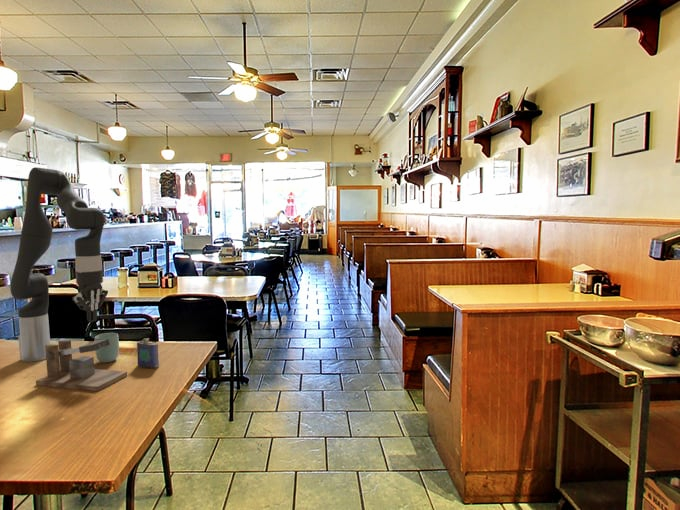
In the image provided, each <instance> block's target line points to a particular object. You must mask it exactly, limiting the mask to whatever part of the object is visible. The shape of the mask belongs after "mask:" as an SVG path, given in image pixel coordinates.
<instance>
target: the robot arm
mask: <svg viewBox="0 0 680 510" xmlns="http://www.w3.org/2000/svg"><path fill="white" fill-rule="evenodd" d="M26 186H27V190H26V200H25V203H26V204H25V210H24V216H23V217H24V218H23V223H22V227H21V232H20V238H19V246H18V253H17V258H16V262H15V266H14V269H13V272H12V276H11V279H10V286H9V287H10V294H11V296H12V298H13V299H15V300H28V299H31V300H30V301H29V302H28V303H27V304H24V306H22V307H20V308H19V309H18V311H17V315H18V324H19V325H18V326H19V335H18V337H17V338H18V349H19V351H18V352H19V360H21V361H22V362H25V363H30V362H31V363H32V362H39V361H42V360H46V350H45V345H47V344H51V335H50V324H49V313H48V312H49V311H48V310H49V306H50V300H49V298H50V297H49V291H50V290H49V281H48V279H47V276H46V275H45V274H44V273H41V272H36V273H35V272H34V273H32V270H33V268H34V267H35V264H37V262H38V261H39V260H40V259H41V258H42V257H43V255H44V254H45V253H46V252H47V251H48V249H49V248H50V245H51V242H52V237H53V226H52V223H51V222H50V220H49V218H48V217H47V215H46V213H45V212H44V209H43V208H42V205H41V195H48V196H57V197H56V204H57V206H58V208H60V210H61V211H62V212H63V213H64V215H65V218H66V223H67V226H68V227H69V228H71V229H72V230H75V231H84V230H85V231H87V230H89V233H88V234H87V235H85V236H81V237H77V238H76V239H74V240H75V241H74V253H75V259H74V260H75V261H74V265H75V268H74V269H75V281H76V282H75V283H76V285H78V289H77V294H76V295H75V296H72V297H71V300H72V302H74V304H75V305H76V306H77V307H78V308H79V310H81V311H85V312H86V320H87V322H89V323H93V322H96V321H97V320H98V309H99V308H100V307H102V306H103V304H104V302H105V300H106V298H107V295H108V293H109V291H108V289H107V290H105V289H103V285H102V283H104V277H103V276H104V275H103V274H104V273H103V272H104V271H103V262H102V254H101V240H102V233H103V230H104V227H105V223H106V217H105V214H104V212H103V211H102V210H101V209H100V208H98V207H88V204H87V202H86V201H85V200H83V198H81V196H79V195H78V193H77V192H76V190H75V188H74V187H73V185H72V183H71V182H70V180H69V178H68V176H67V174H65V173H64V171H61V170H58V169H52V168H44V167H32V168H31V169H30V171H29V173H28V178H27V185H26Z"/></svg>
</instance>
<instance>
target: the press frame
mask: <svg viewBox="0 0 680 510" xmlns="http://www.w3.org/2000/svg"><path fill="white" fill-rule="evenodd" d="M57 343H58V344H53V343H52V344H51V343H50V344H47V345H45V350H46V359H45V360H46V362H45V363H46V372H47V375H46V376H43V377H41V378H39V379H37V380H35V384H36V386H41V385H42V387H50V386H52V387H53V388H62V389H70V390H72V389H73V390H79V391H89V390H91V392H100V391H101V389H102V390H103V389H106V388H107V387H109V386H111V385H113V384H114V383H116V382H119V381H120V380H122V379H124V378H125V377H127V376H128V371H123V370H111V369H110V370H109V369H99V368H95V359H94V356H86V355H85V356H84V355H81V356H77V357H75V358H73V354H67V355H61V356H59V350H60V349H66V348H71V347H72V341H71V340H70V339H69V340H68V339H67V340H66V339H59V340H58V341H57ZM52 387H51V388H52ZM99 390H100V391H99Z"/></svg>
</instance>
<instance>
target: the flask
mask: <svg viewBox="0 0 680 510" xmlns="http://www.w3.org/2000/svg"><path fill="white" fill-rule="evenodd" d="M136 348H137V349H136V350H137V351H136V352H137V367H139V368H146V369H151V368H153V369H154V368H156V369H158V368H159V366H160V361H159V344H158V343H157V342H150V338H149V337H147V338H143V339H142V340H139V341H137V342H136ZM157 367H158V368H157Z"/></svg>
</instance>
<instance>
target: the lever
mask: <svg viewBox="0 0 680 510" xmlns="http://www.w3.org/2000/svg"><path fill="white" fill-rule="evenodd" d="M108 345H110V343H109V339H105V340H100V341H95V340H94V341H92V342H89V343H86V344H83V345H77V346H71V348H66V349H60V350H59V356H61V355H67V354H72V355H73V354H78V353H80V354H84V353H90V352H94V351H95V350H98V349H100V348H103V347H105V346H108ZM95 352H96V351H95Z"/></svg>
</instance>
